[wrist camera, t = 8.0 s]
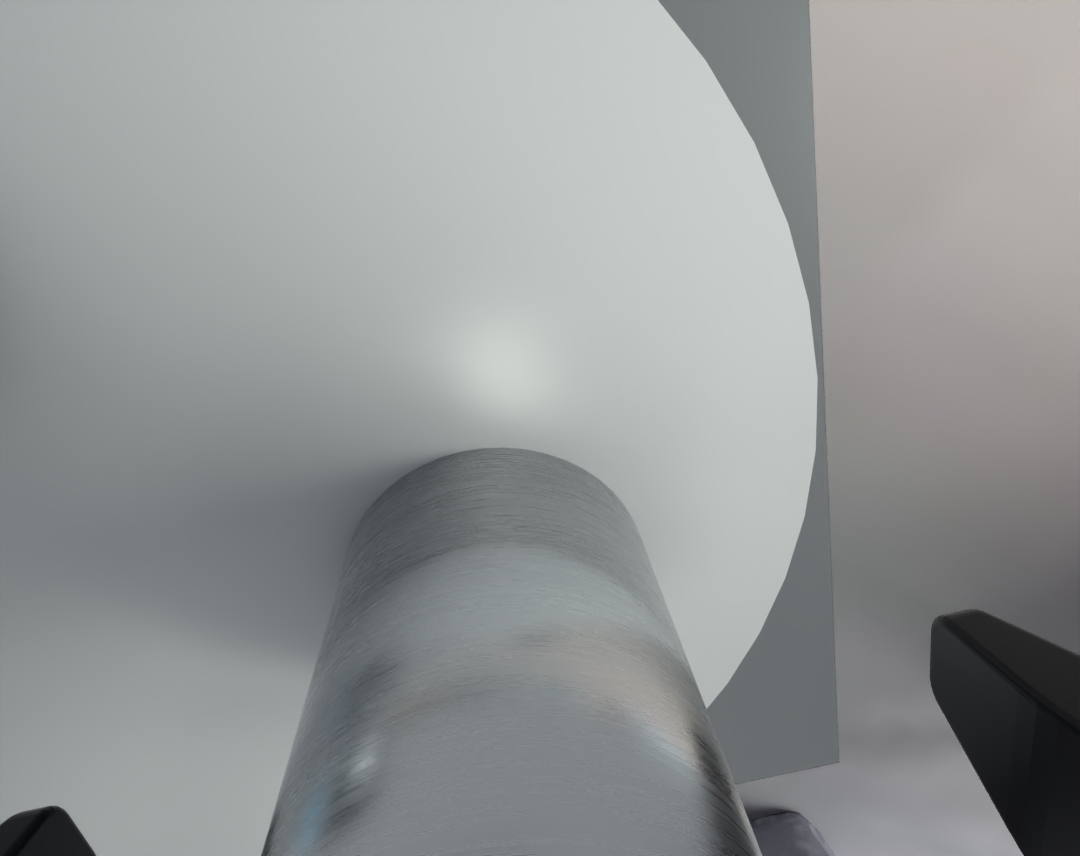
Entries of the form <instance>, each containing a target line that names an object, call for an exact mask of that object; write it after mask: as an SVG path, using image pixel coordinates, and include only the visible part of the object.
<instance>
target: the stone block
mask: <svg viewBox="0 0 1080 856" xmlns="http://www.w3.org/2000/svg"><path fill="white" fill-rule="evenodd" d="M749 822H750V825H751V827H752V830H753V833H754V835H755V838H756V840H757V843H758V846H759V848H760V851H761V853H762V856H834V854H833V852H832V851H831V849H830V848H829V846H828V845H827V844H826V842H825V840H824V839H823V837H822V835H821V834H820V832H819V831H818V830H817V829H816V828H814V827H813V826H812V824H811V823H809V822H808V821H807V820H806V819H805V818H804V817H803V816H802V815H801V814H800V813H793V812H787V813H783V814H777V815H771V816H767V817H762V818H759V819H755V820H752V821H749Z"/></svg>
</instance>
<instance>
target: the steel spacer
mask: <svg viewBox="0 0 1080 856" xmlns="http://www.w3.org/2000/svg"><path fill="white" fill-rule="evenodd" d="M261 856H762V853H761V851H760V848H759V846H758V843H757V840H756V838H755V835H754V833H753V830H752V827H751V825H750V822H749V819H748V817H747V814H746V812H745V809H744V806H743V804H742V801H741V798H740V796H739V793H738V791H737V788H736V785H735V783H734V780H733V777H732V775H731V772H730V770H729V767H728V764H727V762H726V759H725V756H724V754H723V751H722V749H721V746H720V743H719V741H718V738H717V735H716V733H715V730H714V728H713V725H712V722H711V720H710V717H709V714H708V712H707V709H706V707H705V704H704V701H703V699H702V696H701V694H700V691H699V688H698V686H697V683H696V680H695V678H694V675H693V673H692V670H691V667H690V665H689V662H688V659H687V657H686V654H685V652H684V649H683V646H682V644H681V641H680V638H679V636H678V633H677V631H676V628H675V625H674V623H673V620H672V617H671V615H670V612H669V610H668V607H667V604H666V602H665V599H664V596H663V594H662V591H661V589H660V586H659V583H658V581H657V578H656V575H655V573H654V570H653V568H652V565H651V562H650V560H649V557H648V555H647V552H646V549H645V547H644V544H643V541H642V539H641V536H640V534H639V531H638V529H637V527H636V524H635V522H634V520H633V518H632V516H631V515H630V513H629V512H628V510H627V508H626V507H625V505H624V504H623V503H622V502H621V500H620V499H619V498H618V497H617V496H616V495H615V493H614V492H613V491H612V490H611V489H609V488H608V487H607V486H606V485H605V484H604V483H603V482H602V481H600V480H599V479H598V478H596V477H595V476H593V475H592V474H590V473H589V472H587V471H586V470H584V469H583V468H581V467H579V466H576V465H574V464H572V463H570V462H568V461H566V460H564V459H561V458H558V457H555V456H552V455H549V454H546V453H541V452H536V451H531V450H526V449H516V448H482V449H476V450H469V451H463V452H459V453H455V454H452V455H448V456H444V457H441V458H439V459H436V460H434V461H431V462H429V463H427V464H424V465H422V466H420V467H418V468H417V469H415V470H413V471H411V472H410V473H408V474H406V475H404V476H403V477H402V478H400V479H399V480H398V481H396V482H395V483H394V484H392V485H391V486H390V487H388V488H387V489H386V490H385V491H384V492H383V493H382V494H381V495H380V496H379V497H378V498H377V499H376V500H375V501H374V503H373V504H372V505H371V507H370V508H369V509H368V511H367V512H366V513H365V515H364V516H363V518H362V519H361V521H360V523H359V525H358V527H357V529H356V530H355V532H354V535H353V538H352V540H351V543H350V546H349V549H348V552H347V556H346V559H345V563H344V566H343V570H342V573H341V577H340V580H339V584H338V587H337V591H336V594H335V598H334V601H333V605H332V608H331V612H330V616H329V619H328V623H327V626H326V630H325V633H324V637H323V640H322V644H321V647H320V651H319V654H318V658H317V661H316V665H315V668H314V672H313V675H312V679H311V682H310V686H309V689H308V693H307V696H306V700H305V703H304V707H303V710H302V714H301V717H300V721H299V724H298V728H297V731H296V735H295V738H294V742H293V745H292V749H291V752H290V756H289V759H288V763H287V766H286V770H285V773H284V777H283V781H282V784H281V788H280V791H279V795H278V798H277V802H276V805H275V809H274V812H273V816H272V819H271V823H270V826H269V830H268V833H267V837H266V840H265V844H264V847H263V851H262V854H261Z"/></svg>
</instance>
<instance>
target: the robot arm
mask: <svg viewBox="0 0 1080 856" xmlns="http://www.w3.org/2000/svg"><path fill="white" fill-rule="evenodd" d="M930 681H931V687H932V690H933V693H934V696H935V698H936V700H937V702H938V704H939V706H940V708H941V710H942V712H943V713H944V715H945V717H946V719H947V721H948V722H949V724H950V726H951V728H952V730H953V731H954V733H955V735H956V737H957V739H958V740H959V742H960V744H961V746H962V748H963V749H964V751H965V753H966V755H967V757H968V758H969V760H970V762H971V764H972V766H973V767H974V769H975V771H976V773H977V775H978V776H979V778H980V780H981V782H982V783H983V785H984V787H985V789H986V791H987V792H988V794H989V796H990V798H991V800H992V801H993V803H994V805H995V807H996V809H997V810H998V812H999V814H1000V816H1001V818H1002V819H1003V821H1004V823H1005V825H1006V827H1007V828H1008V830H1009V832H1010V833H1011V835H1012V837H1013V838H1014V840H1015V842H1016V844H1017V845H1018V847H1019V849H1020V850H1021V852H1022V853H1023V855H1024V856H1080V655H1078V654H1076V653H1074V652H1071V651H1069V650H1067V649H1065V648H1063V647H1060V646H1058V645H1056V644H1054V643H1052V642H1049V641H1047V640H1045V639H1043V638H1041V637H1038V636H1036V635H1034V634H1032V633H1030V632H1028V631H1025V630H1023V629H1021V628H1019V627H1017V626H1014V625H1012V624H1010V623H1008V622H1006V621H1003V620H1001V619H999V618H997V617H995V616H992V615H990V614H988V613H986V612H983V611H980V610H976V609H969V610H964V611H960V612H955V613H950V614H945V615H941V616H939V617H937V618H936V619H935V620H934V622H933V624H932V629H931V656H930ZM0 856H96V854H95V852H94V851H93V849H92V848H91V846H90V845H89V843H88V842H87V840H86V839H85V837H84V836H83V835H82V833H81V832H80V830H79V829H78V827H77V826H76V824H75V823H74V821H73V820H72V818H71V817H70V816H69V814H68V813H67V812H66V811H65V810H64V809H63V808H61V807H59V806H46V807H42V808H37V809H32V810H28V811H23V812H20V813H17V814H15V815H13V816H11V817H9V818H8V819H7V820H5V821H4V822H3V823H2V824H1V825H0Z"/></svg>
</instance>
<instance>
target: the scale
mask: <svg viewBox="0 0 1080 856" xmlns="http://www.w3.org/2000/svg"><path fill="white" fill-rule="evenodd" d="M482 448H516V449H526V450H531V451H536V452H541V453H546V454H549V455H552V456H555V457H558V458H561V459H564V460H566V461H568V462H570V463H572V464H574V465H576V466H579V467H581V468H583V469H584V470H586V471H587V472H589V473H590V474H592V475H593V476H595V477H596V478H598V479H599V480H600V481H602V482H603V483H604V484H605V485H606V486H607V487H608V488H609V489H611V490H612V491H613V492H614V493H615V495H616V496H617V497H618V498H619V499H620V500H621V502H622V503H623V504H624V505H625V507H626V508H627V510H628V512H629V513H630V515H631V516H632V518H633V520H634V522H635V524H636V527H637V529H638V531H639V534H640V536H641V539H642V541H643V544H644V547H645V549H646V552H647V555H648V557H649V560H650V562H651V565H652V568H653V570H654V573H655V575H656V578H657V581H658V583H659V586H660V589H661V591H662V594H663V596H664V599H665V602H666V604H667V607H668V610H669V612H670V615H671V617H672V620H673V623H674V625H675V628H676V631H677V633H678V636H679V638H680V641H681V644H682V646H683V649H684V652H685V654H686V657H687V659H688V662H689V665H690V667H691V670H692V673H693V675H694V678H695V680H696V683H697V686H698V688H699V691H700V694H701V696H702V699H703V701H704V704H705V707H706V709H707V712H708V714H709V717H710V720H711V722H712V725H713V728H714V730H715V733H716V735H717V738H718V741H719V743H720V746H721V749H722V751H723V754H724V756H725V759H726V762H727V764H728V767H729V770H730V772H731V775H732V777H733V780H734V783H735V784H740V783H745V782H749V781H754V780H759V779H764V778H768V777H773V776H778V775H782V774H787V773H792V772H796V771H801V770H806V769H811V768H815V767H820V766H825V765H829V764H834V763H839V750H838V725H837V699H836V674H835V649H834V623H833V598H832V573H831V548H830V522H829V497H828V472H827V446H826V421H825V396H824V371H823V345H822V320H821V295H820V269H819V244H818V219H817V194H816V168H815V143H814V118H813V92H812V67H811V42H810V17H809V0H0V825H1V824H2V823H3V822H4V821H5V820H7V819H8V818H9V817H11V816H13V815H15V814H17V813H20V812H23V811H28V810H32V809H37V808H42V807H46V806H59V807H61V808H63V809H64V810H65V811H66V812H67V813H68V814H69V816H70V817H71V818H72V820H73V821H74V823H75V824H76V826H77V827H78V829H79V830H80V832H81V833H82V835H83V836H84V837H85V839H86V840H87V842H88V843H89V845H90V846H91V848H92V849H93V851H94V852H95V854H96V856H261V854H262V851H263V847H264V844H265V840H266V837H267V833H268V830H269V826H270V823H271V819H272V816H273V812H274V809H275V805H276V802H277V798H278V795H279V791H280V788H281V784H282V781H283V777H284V773H285V770H286V766H287V763H288V759H289V756H290V752H291V749H292V745H293V742H294V738H295V735H296V731H297V728H298V724H299V721H300V717H301V714H302V710H303V707H304V703H305V700H306V696H307V693H308V689H309V686H310V682H311V679H312V675H313V672H314V668H315V665H316V661H317V658H318V654H319V651H320V647H321V644H322V640H323V637H324V633H325V630H326V626H327V623H328V619H329V616H330V612H331V608H332V605H333V601H334V598H335V594H336V591H337V587H338V584H339V580H340V577H341V573H342V570H343V566H344V563H345V559H346V556H347V552H348V549H349V546H350V543H351V540H352V538H353V535H354V532H355V530H356V529H357V527H358V525H359V523H360V521H361V519H362V518H363V516H364V515H365V513H366V512H367V511H368V509H369V508H370V507H371V505H372V504H373V503H374V501H375V500H376V499H377V498H378V497H379V496H380V495H381V494H382V493H383V492H384V491H385V490H386V489H387V488H388V487H390V486H391V485H392V484H394V483H395V482H396V481H398V480H399V479H400V478H402V477H403V476H404V475H406V474H408V473H410V472H411V471H413V470H415V469H417V468H418V467H420V466H422V465H424V464H427V463H429V462H431V461H434V460H436V459H439V458H441V457H444V456H448V455H452V454H455V453H459V452H463V451H469V450H476V449H482Z"/></svg>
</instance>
